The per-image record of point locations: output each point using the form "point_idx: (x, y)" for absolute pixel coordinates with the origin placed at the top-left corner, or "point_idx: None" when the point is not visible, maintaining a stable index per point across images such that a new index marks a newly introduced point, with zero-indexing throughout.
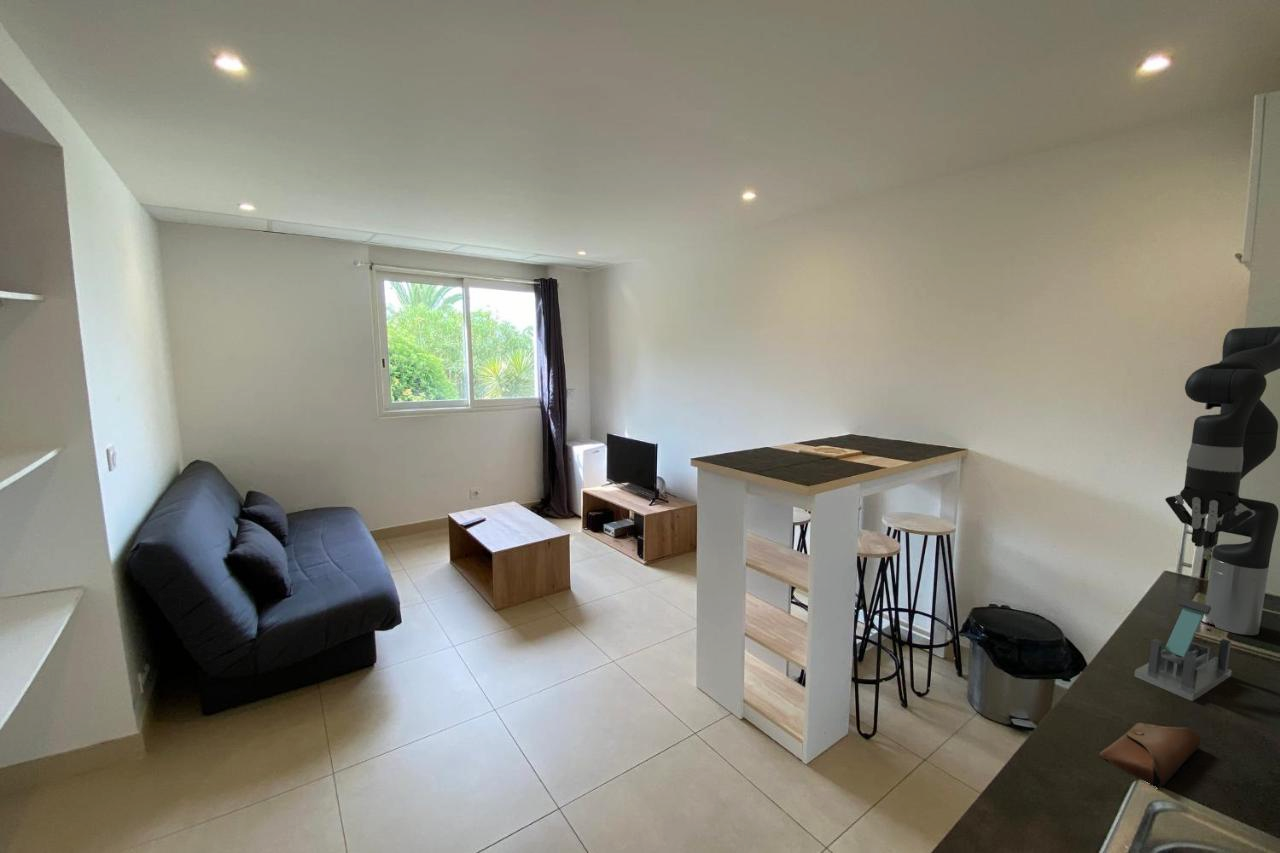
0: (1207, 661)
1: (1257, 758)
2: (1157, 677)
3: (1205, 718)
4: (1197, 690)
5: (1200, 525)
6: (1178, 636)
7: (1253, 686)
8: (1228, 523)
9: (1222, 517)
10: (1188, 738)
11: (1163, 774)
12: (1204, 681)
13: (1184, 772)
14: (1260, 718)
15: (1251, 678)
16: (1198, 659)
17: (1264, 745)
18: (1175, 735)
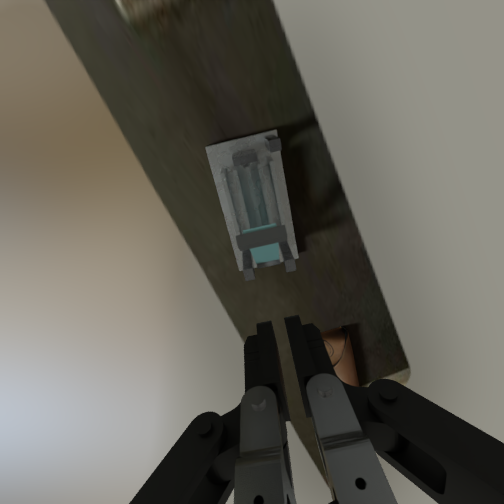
0: (276, 193)
1: (373, 292)
2: None
3: (321, 273)
4: (294, 243)
5: (287, 444)
6: (262, 255)
7: (302, 127)
8: (426, 482)
9: (373, 455)
10: (349, 353)
11: None
12: (284, 210)
13: (355, 362)
14: (344, 213)
15: (288, 99)
16: (268, 201)
17: (368, 264)
18: (345, 365)
